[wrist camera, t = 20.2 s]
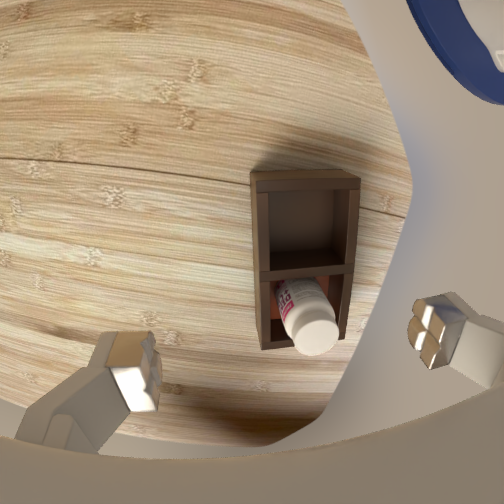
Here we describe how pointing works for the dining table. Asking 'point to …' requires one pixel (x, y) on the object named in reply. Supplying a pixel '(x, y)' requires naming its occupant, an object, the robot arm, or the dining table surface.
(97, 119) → the dining table surface
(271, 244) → the holder
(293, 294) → the pill bottle
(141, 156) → the dining table surface
